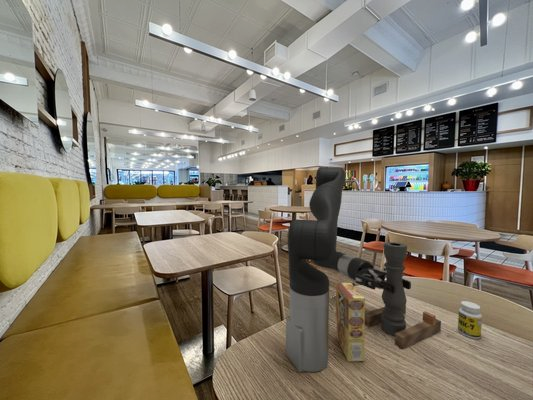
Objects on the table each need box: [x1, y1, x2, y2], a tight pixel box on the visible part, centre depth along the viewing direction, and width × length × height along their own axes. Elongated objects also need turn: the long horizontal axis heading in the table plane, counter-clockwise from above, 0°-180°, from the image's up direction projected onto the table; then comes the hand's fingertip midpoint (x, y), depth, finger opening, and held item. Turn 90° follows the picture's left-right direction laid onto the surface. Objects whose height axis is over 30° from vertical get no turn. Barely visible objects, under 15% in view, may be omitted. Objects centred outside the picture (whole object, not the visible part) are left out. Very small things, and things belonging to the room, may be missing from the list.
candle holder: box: [380, 241, 408, 338], centre depth 62 cm, size 6×6×25 cm
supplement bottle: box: [457, 300, 483, 340], centre depth 61 cm, size 5×5×8 cm
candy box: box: [335, 282, 366, 362], centre depth 55 cm, size 9×4×15 cm, turn 1°
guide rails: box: [365, 304, 442, 350], centre depth 64 cm, size 17×13×6 cm
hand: (402, 287), depth 60 cm, fingers open, 5 cm apart
